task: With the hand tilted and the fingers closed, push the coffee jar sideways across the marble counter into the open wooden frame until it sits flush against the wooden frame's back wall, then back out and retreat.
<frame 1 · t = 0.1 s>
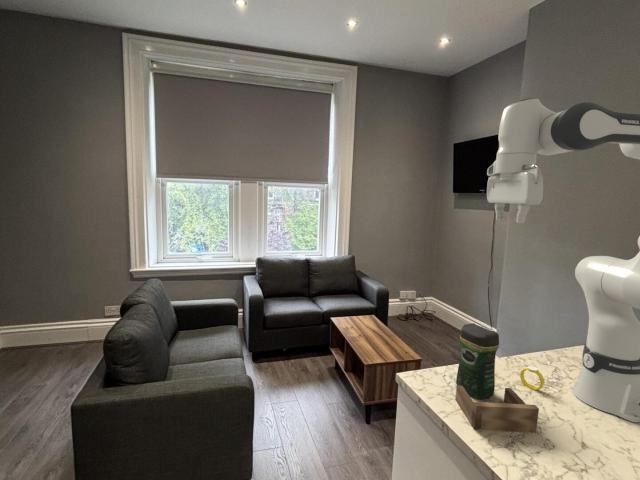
hand: (509, 221, 87), 48 cm above the counter, tool pointing down, fingers open, 8 cm apart
wooden frame: (491, 412, 86), on the counter
watch: (530, 387, 98), on the counter
coffee jar: (474, 390, 96), on the counter
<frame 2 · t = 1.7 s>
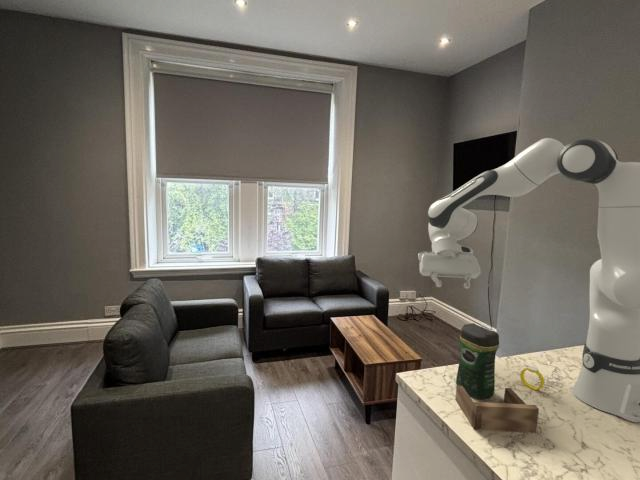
hand: (453, 286, 113), 24 cm above the counter, tool tilted 45°, fingers open, 8 cm apart
nothing on the counter moved.
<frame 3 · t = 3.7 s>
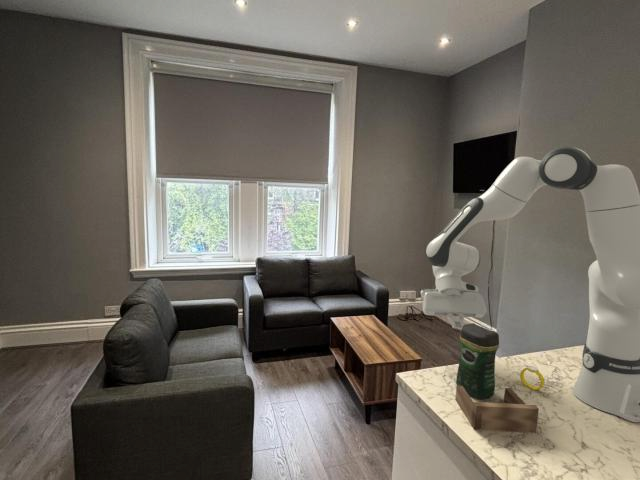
hand: (457, 327, 109), 12 cm above the counter, tool tilted 45°, fingers closed
nothing on the counter moved.
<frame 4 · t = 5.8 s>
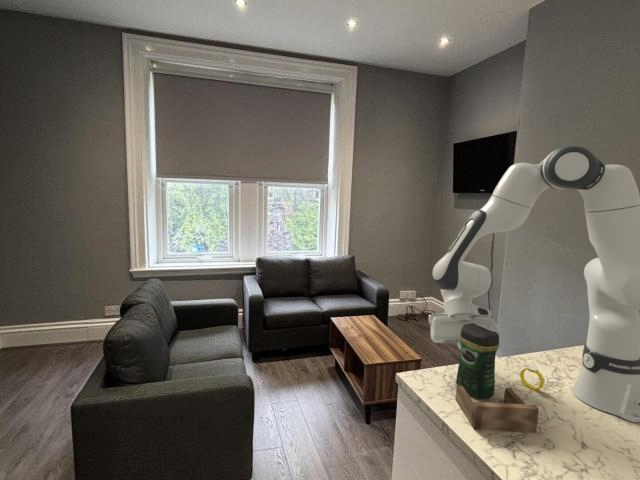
hand: (469, 357, 99), 7 cm above the counter, tool tilted 45°, fingers closed, pressing on coffee jar
coffee jar: (474, 390, 95), on the counter, touching gripper
everything else where it was.
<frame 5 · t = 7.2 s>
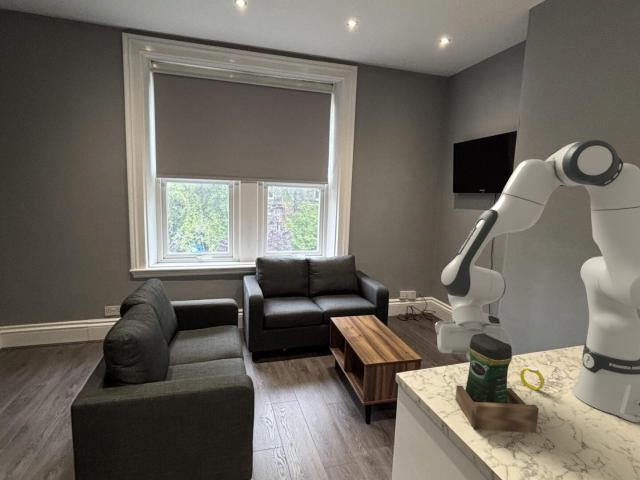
hand: (479, 369, 92), 7 cm above the counter, tool tilted 45°, fingers closed, pressing on coffee jar
coffee jar: (484, 406, 88), on the counter, touching gripper
everything else where it was.
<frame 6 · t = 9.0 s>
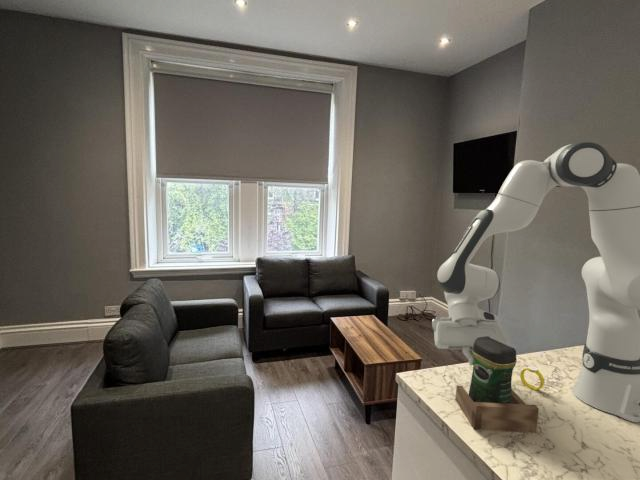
hand: (475, 364, 95), 8 cm above the counter, tool tilted 45°, fingers closed
coffee jar: (488, 411, 86), on the counter
everything else where it was.
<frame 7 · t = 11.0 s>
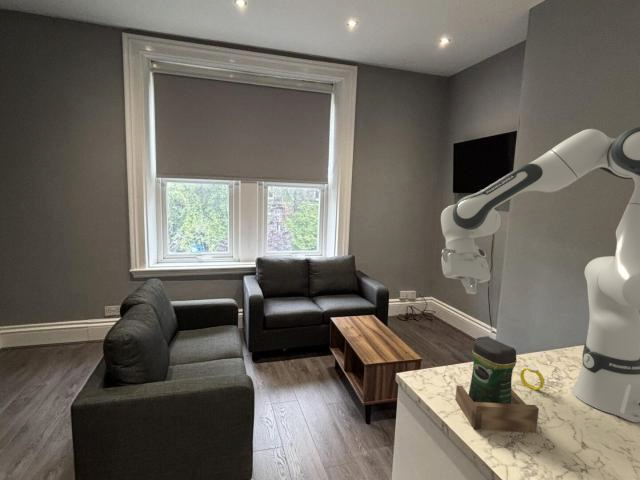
hand: (472, 293, 106), 24 cm above the counter, tool tilted 30°, fingers closed
nothing on the counter moved.
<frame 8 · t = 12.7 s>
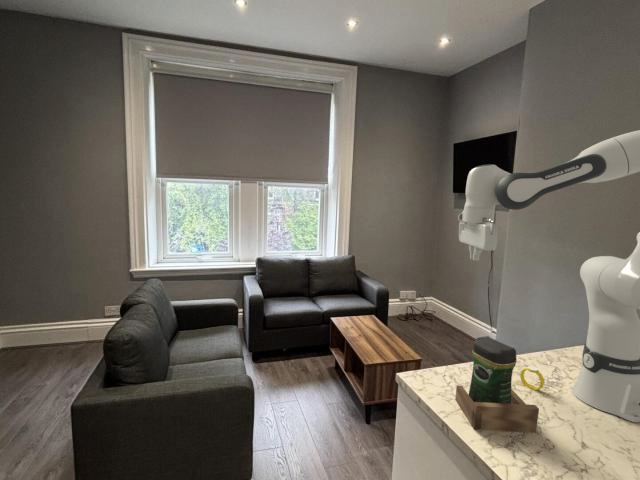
hand: (474, 260, 109), 34 cm above the counter, tool pointing down, fingers closed
nothing on the counter moved.
at the end: coffee jar 0.3 cm off-centre on the wooden frame, point 0.0 cm above the wooden frame's base; coffee jar tilted 0°; coffee jar moved 9.1 cm from its start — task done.
